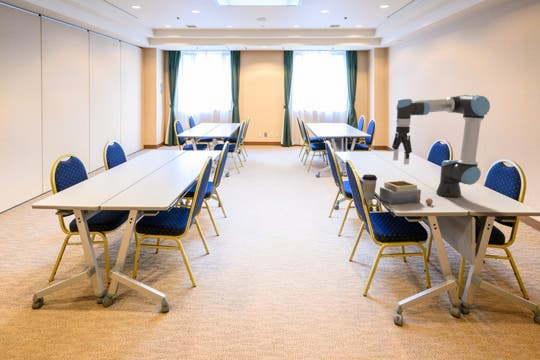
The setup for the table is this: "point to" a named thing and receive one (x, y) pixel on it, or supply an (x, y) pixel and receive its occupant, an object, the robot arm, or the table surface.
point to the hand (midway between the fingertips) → (400, 162)
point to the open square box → (399, 193)
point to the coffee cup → (369, 186)
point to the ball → (429, 201)
